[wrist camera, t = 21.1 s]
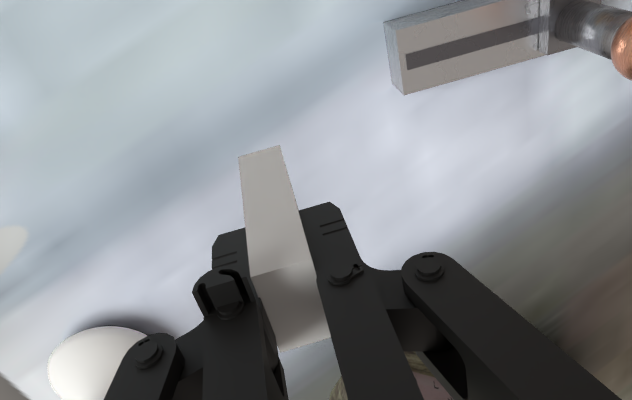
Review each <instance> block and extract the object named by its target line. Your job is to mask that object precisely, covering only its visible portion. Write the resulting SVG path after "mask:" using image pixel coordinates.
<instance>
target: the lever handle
mask: <svg viewBox="0 0 632 400" xmlns="http://www.w3.org/2000/svg"><path fill="white" fill-rule="evenodd" d="M575 47H579V48H582V49H585V50H587V51H590V52H593V53H595V54H598V55H600V56H603V57H606V58H608V59H611V60H612V62H613V64H614V66H615V68H616V69H617V71H618V72H619V73H620V74H621V75H623V76H624V77H625V78H627V79H629V80H632V12H631V11H627V10H623V9H618V8H614V7H610V6H606V5H602V4H601V0H540V24H539V52H541V53H544V54H546V55H550V54H554V53H557V52H561V51H564V50H568V49H571V48H575Z"/></svg>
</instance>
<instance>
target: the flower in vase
mask: <svg viewBox="0 0 632 400" xmlns="http://www.w3.org/2000/svg"><path fill="white" fill-rule="evenodd" d="M146 336H147V335H145V334H144V333H141V332H139V331H136V330H133V329H129V328H124V327H116V326H104V327H96V328H91V329H87V330H84V331H81V332H78V333H76V334H74V335H72V336H71V337H69V338H67V339H66V340H64V341H63V342H61V343H60V344H59V345H58V346H57V347H56V348H55V349H54V350H53V352H52V353H51V355H50V357H49V360H48V364H47V371H48V378H49V382H50V385H51V387H52V389H53V390H54V391H55V393H56V394H57V395H58V396H59V397H60V398H61V399H62V400H104V398H105V395H106V393H107V391H108V389H109V387H110V385H111V382H112V380H113V378H114V376H115V374H116V372H117V369H118V367H119V365H120V363H121V361H122V359H123V357H124V356H125V354H126V353H127V351H128V350H129V349H130V348H131V347H132V346H133V345H134V344H135V343H136V342H137V341H139V340H141V339H143V338H145V337H146Z"/></svg>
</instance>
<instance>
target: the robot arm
mask: <svg viewBox="0 0 632 400" xmlns="http://www.w3.org/2000/svg"><path fill="white" fill-rule="evenodd" d="M238 160H239V170H240V180H241V190H242V199H243V209H244V219H245V228H242V229H238V230H235V231H231V232H228V233H224V234H221V235H218V237H217V239H216V241H215V243H214V244H213V246H212V270H211V271H209V272H207V273H206V274H204V275H203V276H202V277H200V279H199V280H198V281H197V282H196V284H195V285H194V288H193V291H192V293H193V296H194V298H195V300H196V302H197V304H198V306H199V308H200V310H201V312H202V314H203V316H204V321H203V322H202V323H200V324H199V325H198V326H197V327H196V328H194V329H193V330H191V331H190V332H188V333H186V334H185V335H183V336H181V337H179V338H178V339H176V340H175V339H174V337H172V336H170V335H168V334H165V333H156V334H153V335H149V336H146V337H145V338H143V339H141V340H139V341H137V342H136V343H135V344H134V345H133V346H132V347H131V348H130V349H129V350H128V351H127V353H126V354H125V356H124V357H123V359H122V361H121V363H120V365H119V367H118V369H117V372H116V374H115V376H114V378H113V380H112V382H111V385H110V387H109V389H108V391H107V393H106V395H105V398H104V400H288V394H287V388H286V382H285V375H284V369H283V367H282V364H281V362H280V359H279V357H278V350H277V346H278V348H279V351H280V353H281V352H284V351H288V350H291V349H294V348H298V347H301V346H304V345H308V344H311V343H314V342H318V341H321V340H324V339H328V338H332V342H333V346H334V349H335V353H336V357H337V360H338V364H339V368H340V371H341V375H342V379H343V382H344V386H345V390H346V393H347V397H348V400H424V398H423V396H422V393H421V391H420V389H419V386H418V384H417V382H416V379H415V377H414V375H413V372H412V370H411V368H410V365H409V363H408V361H407V358H406V356H405V354H404V352H416V354H417V356H418V357H419V358H420V360H421V361H422V362H423V363H424V364H425V366H426V367H427V368H428V369H429V371H430V372H431V373H432V374H433V375H434V377H435V378H436V379H437V380H438V381H439V383H440V384H441V385H442V386H443V387H444V389H445V390H446V391H447V392H448V393H449V395H450V396H451V397H452V398H453V399H454V400H621V399H620V398H619V397H618V396H617V395H615V394H614V393H613V392H612V391H611V390H609V389H608V388H607V387H606V386H605V385H603V384H602V383H601V382H600V381H599V380H597V379H596V378H595V377H594V376H593V375H591V374H590V373H589V372H588V371H587V370H585V369H584V368H583V367H582V366H581V365H579V364H578V363H577V362H576V361H575V360H573V359H572V358H571V357H570V356H569V355H567V354H566V353H565V352H564V351H563V350H561V349H560V348H559V347H558V346H557V345H555V344H554V343H553V342H552V341H551V340H549V339H548V338H547V337H546V336H545V335H543V334H542V333H541V332H540V331H539V330H537V329H536V328H535V327H534V326H533V325H531V324H530V323H529V322H528V321H527V320H525V319H524V318H523V317H522V316H521V315H519V314H518V313H517V312H516V311H515V310H513V309H512V308H511V307H510V306H509V305H508V304H506V303H505V302H504V301H503V300H502V299H500V298H499V297H498V296H497V295H496V294H494V293H493V292H492V291H491V290H490V289H488V288H487V287H486V286H485V285H484V284H482V283H481V282H480V281H479V280H478V279H476V278H475V277H474V276H473V275H472V274H470V273H469V272H468V271H467V270H466V269H464V268H463V267H462V266H461V265H460V264H458V263H457V262H456V261H455V260H454V259H452V258H451V257H449V256H447V255H445V254H442V253H437V252H424V253H420V254H417V255H414V256H412V257H411V258H410V259H408V260H407V261H406V262H405V263H404V265H403V266H402V269H401V270H392V271H387V270H378V269H374V268H372V267H369V266H368V265H366V264H365V263H364V262H363V261H362V259H361V258H360V256H359V253H358V251H357V249H356V246H355V244H354V241H353V239H352V237H351V234H350V232H349V230H348V228H347V225H346V223H345V221H344V218H343V215H342V213H341V211H340V209H339V208H338V207H336V206H335V205H334V204H332V203H331V202H327V203H323V204H320V205H316V206H313V207H310V208H306V209H303V210H298V206H297V203H296V200H295V196H294V193H293V189H292V186H291V182H290V179H289V176H288V172H287V169H286V165H285V162H284V159H283V155H282V152H281V148H280V145H278V146H275V147H271V148H268V149H264V150H261V151H257V152H254V153H250V154H247V155H243V156H240V157H238Z"/></svg>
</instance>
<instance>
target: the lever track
mask: <svg viewBox="0 0 632 400" xmlns="http://www.w3.org/2000/svg"><path fill="white" fill-rule="evenodd" d="M383 24H384V31H385V38H386V45H387V52H388V59H389V66H390V74H391V81H392V84H393V85H394V86H395V87H396V88H397V89H398V90H399V91H400V92H401V93H402V94H403V95H407V94H410V93H414V92H417V91H421V90H424V89H428V88H432V87H435V86H439V85H442V84H446V83H449V82H453V81H456V80H460V79H463V78H467V77H470V76H474V75H477V74H481V73H484V72H488V71H491V70H495V69H498V68H502V67H505V66H509V65H512V64H516V63H519V62H523V61H526V60H530V59H533V58H537V57H540V56H544V55H546V54H544V53H541V52H539V24H540V0H463V1H459V2H455V3H452V4H448V5H445V6H441V7H437V8H434V9H430V10H427V11H423V12H419V13H416V14H412V15H409V16H405V17H402V18H398V19H394V20H391V21H387V22H384V23H383Z"/></svg>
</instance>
